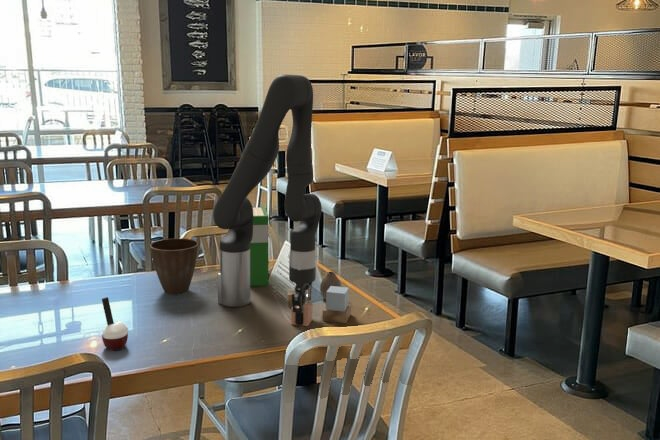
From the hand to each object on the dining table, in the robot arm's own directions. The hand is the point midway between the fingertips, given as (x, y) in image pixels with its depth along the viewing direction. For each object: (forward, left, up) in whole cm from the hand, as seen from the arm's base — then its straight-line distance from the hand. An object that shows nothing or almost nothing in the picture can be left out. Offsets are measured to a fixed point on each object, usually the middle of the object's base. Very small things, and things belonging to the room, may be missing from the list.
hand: (301, 320), depth 180 cm
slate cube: (+9, +6, +3) cm, 11 cm away
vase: (+4, +21, -1) cm, 21 cm away
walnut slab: (+9, +6, -1) cm, 11 cm away
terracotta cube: (0, 0, 0) cm, 0 cm away
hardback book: (-26, +35, -1) cm, 44 cm away
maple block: (-6, +13, -1) cm, 14 cm away
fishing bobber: (-42, -29, -1) cm, 51 cm away
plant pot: (-46, +14, -1) cm, 48 cm away
